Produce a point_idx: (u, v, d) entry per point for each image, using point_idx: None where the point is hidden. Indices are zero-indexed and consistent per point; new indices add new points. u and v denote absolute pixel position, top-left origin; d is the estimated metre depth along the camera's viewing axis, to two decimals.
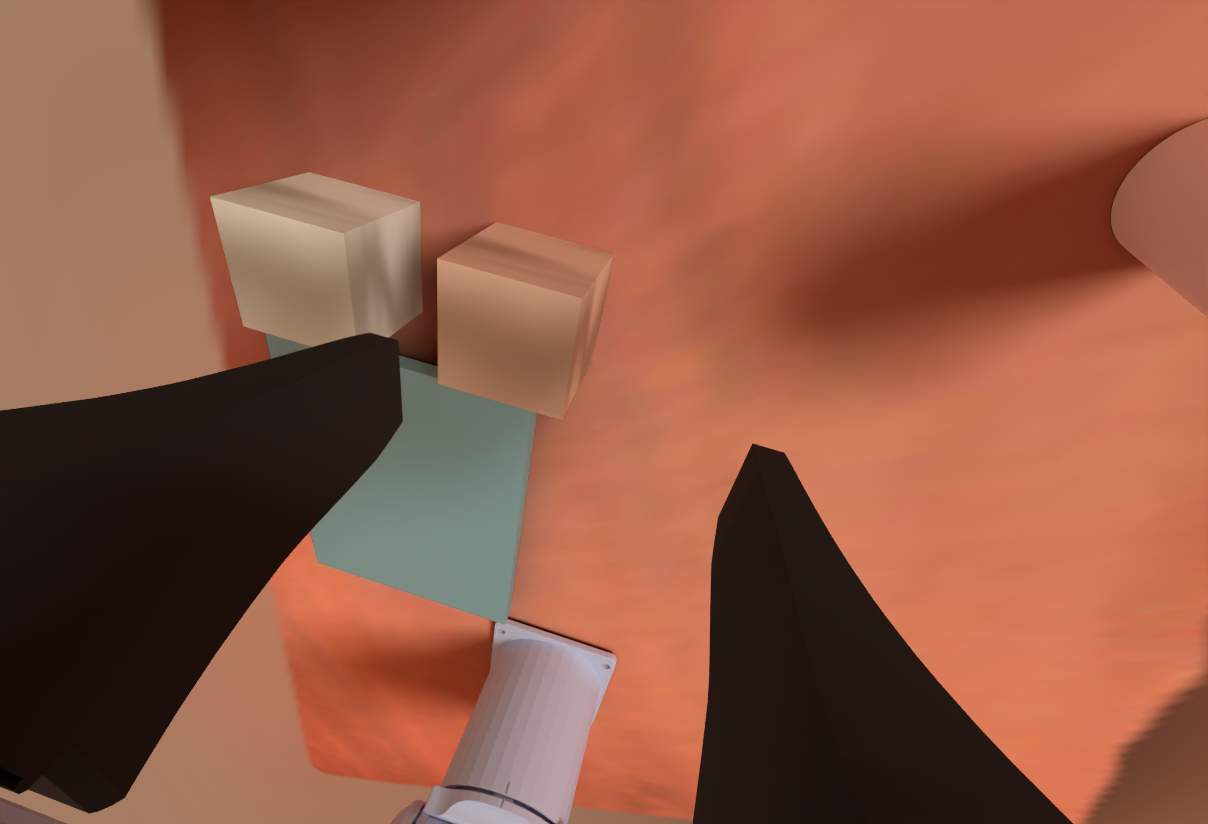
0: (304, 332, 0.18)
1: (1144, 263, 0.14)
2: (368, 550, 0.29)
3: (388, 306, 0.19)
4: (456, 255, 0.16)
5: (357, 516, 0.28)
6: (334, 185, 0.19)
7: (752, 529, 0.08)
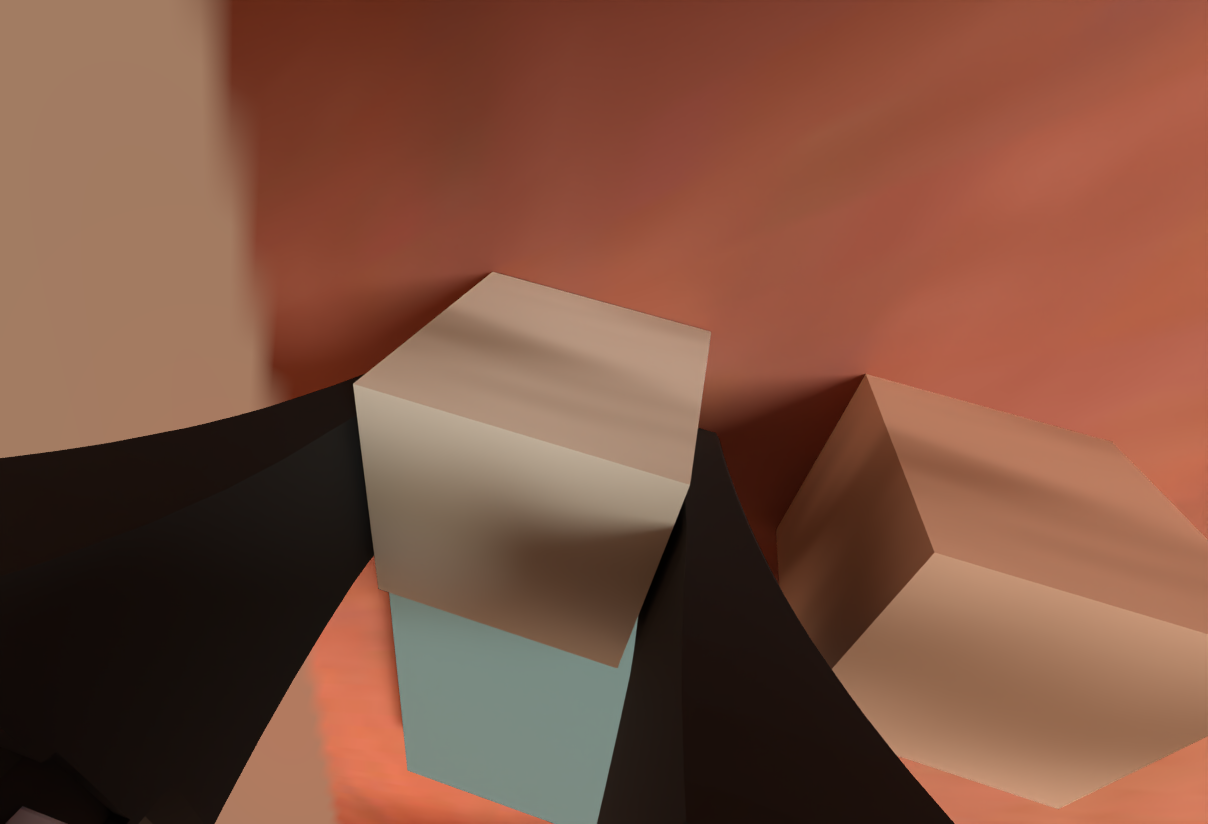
0: (511, 616, 0.09)
1: None
2: (490, 773, 0.20)
3: None
4: (946, 525, 0.07)
5: (484, 741, 0.18)
6: (552, 306, 0.10)
7: None
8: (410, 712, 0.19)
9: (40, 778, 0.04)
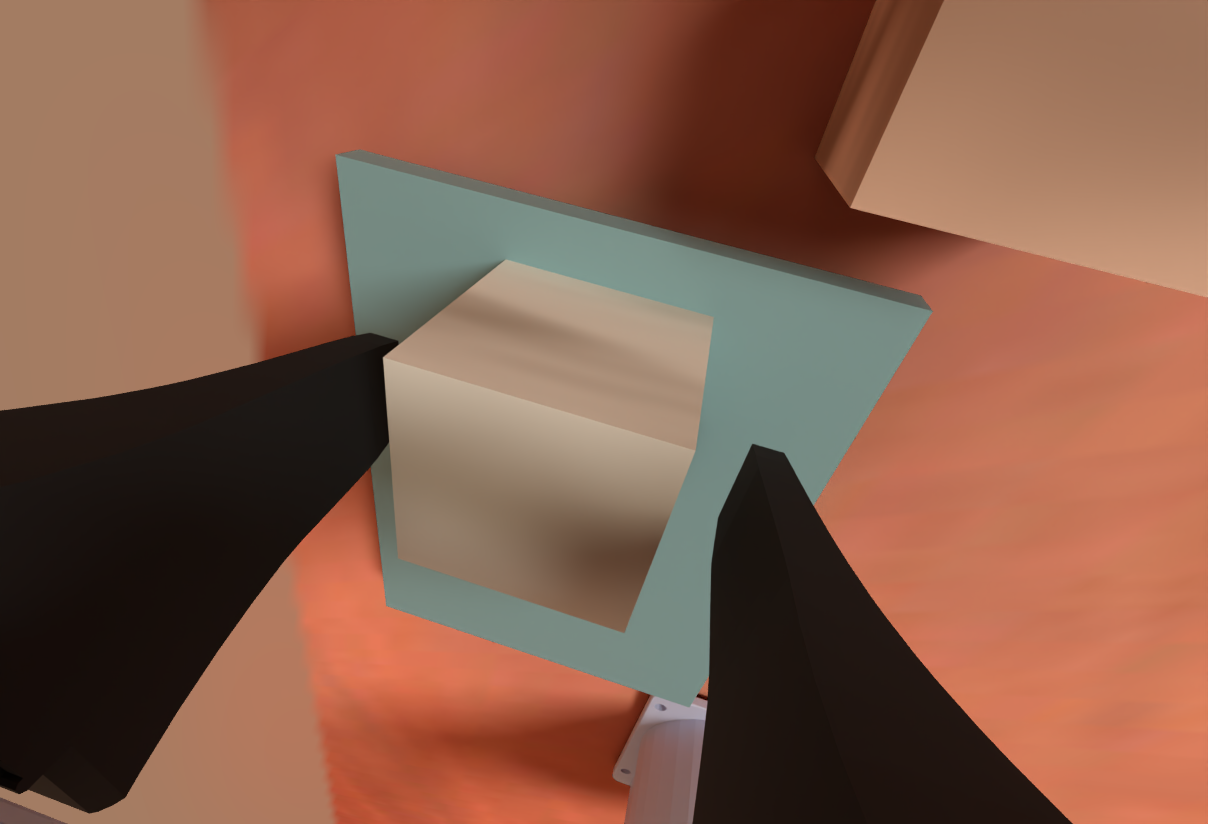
0: (524, 583, 0.09)
1: None
2: (477, 590, 0.18)
3: None
4: None
5: None
6: (563, 291, 0.10)
7: (751, 529, 0.08)
8: (385, 506, 0.16)
9: None
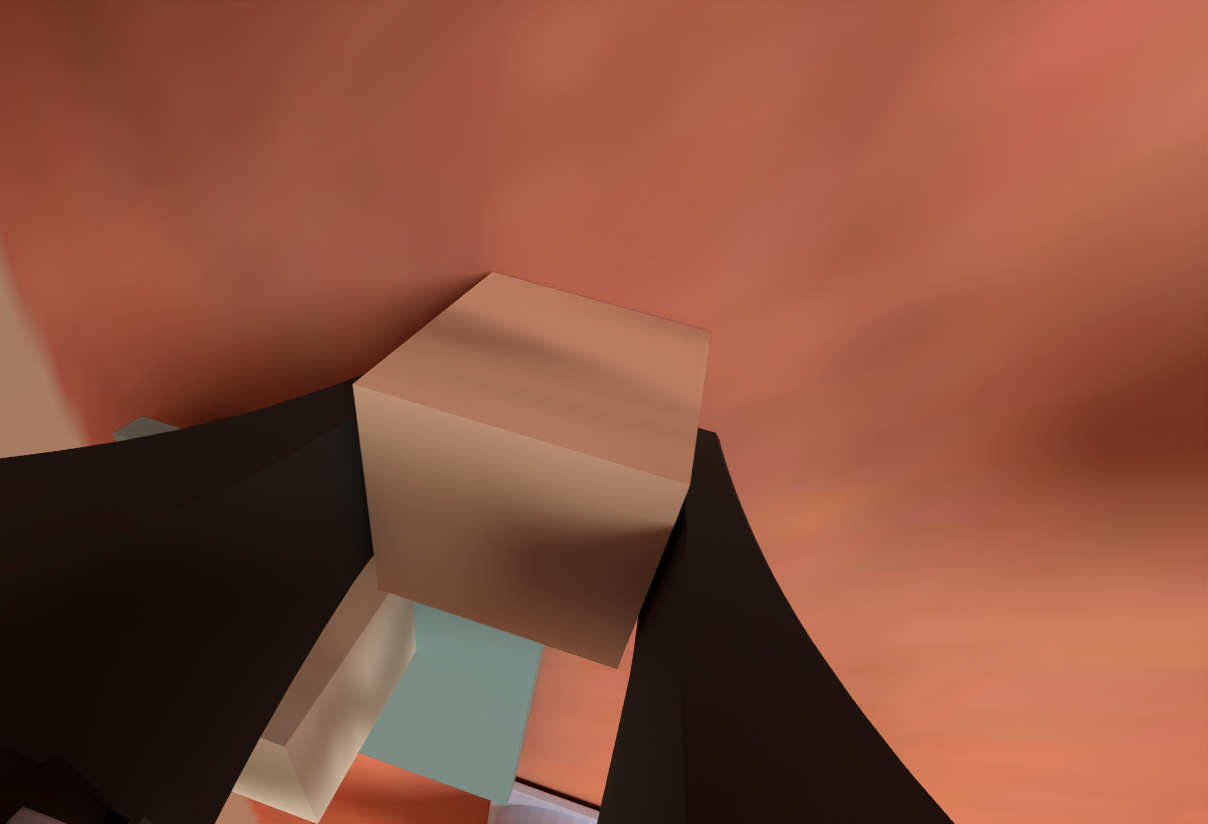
0: (237, 787, 0.12)
1: None
2: None
3: (364, 713, 0.13)
4: (401, 369, 0.07)
5: None
6: None
7: None
8: None
9: (40, 778, 0.04)
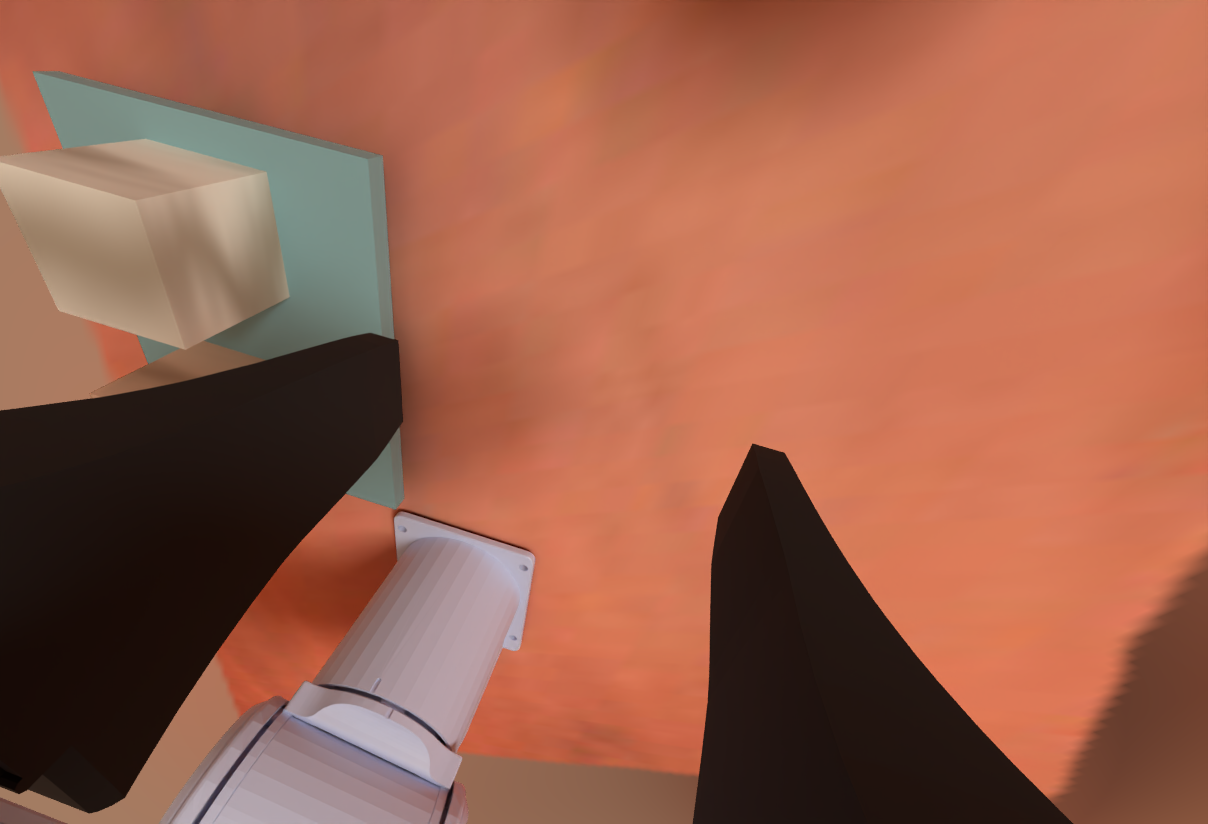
0: (122, 317, 0.16)
1: None
2: None
3: (229, 289, 0.17)
4: (113, 387, 0.19)
5: None
6: (164, 152, 0.17)
7: (752, 530, 0.08)
8: (147, 344, 0.23)
9: None
